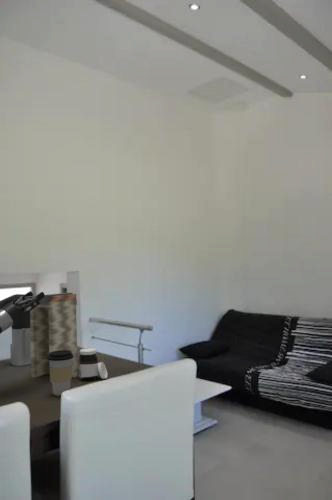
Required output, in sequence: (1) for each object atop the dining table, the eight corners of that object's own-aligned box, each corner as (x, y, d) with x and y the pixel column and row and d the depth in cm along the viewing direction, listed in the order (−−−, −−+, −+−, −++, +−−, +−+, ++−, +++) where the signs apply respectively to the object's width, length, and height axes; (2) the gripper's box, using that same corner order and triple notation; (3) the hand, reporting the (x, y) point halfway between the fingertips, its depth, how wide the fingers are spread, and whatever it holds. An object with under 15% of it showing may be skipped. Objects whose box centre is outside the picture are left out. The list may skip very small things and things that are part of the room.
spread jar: (77, 376, 180) (76, 348, 180) (103, 373, 184) (103, 345, 184) (82, 383, 169) (81, 354, 169) (110, 380, 173) (109, 351, 173)
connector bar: (28, 304, 166) (28, 297, 167) (24, 304, 168) (24, 296, 168) (72, 299, 182) (72, 292, 182) (68, 299, 184) (68, 292, 184)
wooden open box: (52, 383, 171) (50, 296, 171) (30, 376, 181) (28, 295, 182) (78, 375, 180) (76, 294, 181) (56, 370, 191) (54, 293, 192)
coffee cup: (79, 390, 160) (78, 350, 160) (65, 398, 151) (64, 355, 151) (57, 388, 163) (56, 349, 163) (42, 396, 154) (41, 354, 155)
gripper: (10, 310, 155) (43, 285, 165) (-9, 308, 164) (23, 285, 175) (20, 327, 157) (52, 301, 168) (0, 324, 167) (32, 300, 177)
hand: (37, 293), depth 171 cm, fingers open, 8 cm apart
